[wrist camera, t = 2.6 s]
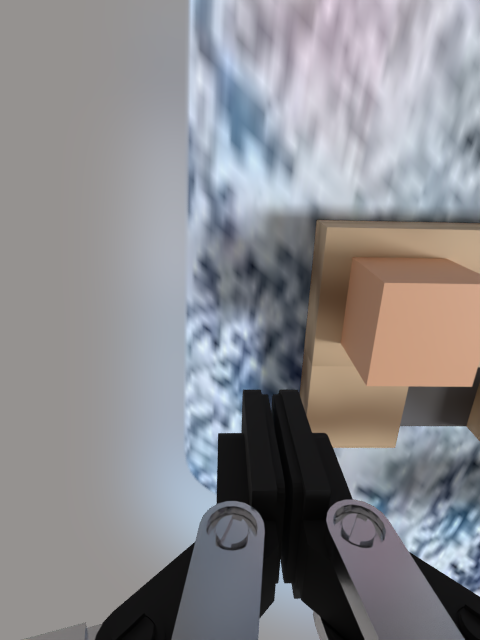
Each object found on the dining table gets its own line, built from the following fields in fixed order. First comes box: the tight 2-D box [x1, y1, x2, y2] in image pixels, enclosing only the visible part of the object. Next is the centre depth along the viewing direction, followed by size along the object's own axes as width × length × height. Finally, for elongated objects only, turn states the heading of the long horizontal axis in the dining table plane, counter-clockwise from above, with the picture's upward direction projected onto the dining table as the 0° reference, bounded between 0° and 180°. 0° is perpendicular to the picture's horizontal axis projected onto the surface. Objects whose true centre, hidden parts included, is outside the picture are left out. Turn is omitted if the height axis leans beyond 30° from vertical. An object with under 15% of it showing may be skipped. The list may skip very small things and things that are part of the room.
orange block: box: [341, 257, 480, 387], centre depth 19 cm, size 5×5×4 cm
